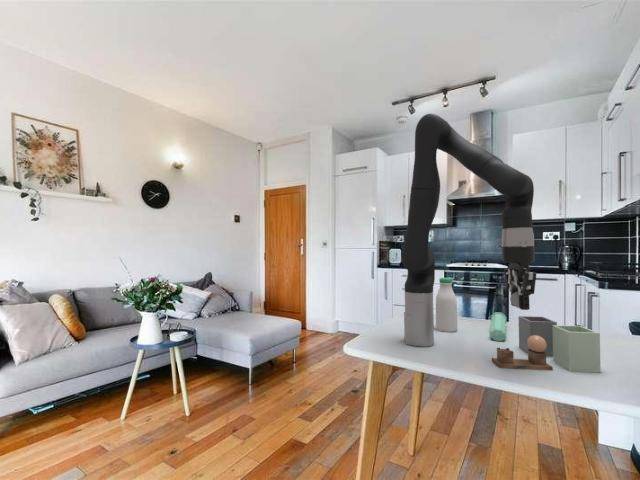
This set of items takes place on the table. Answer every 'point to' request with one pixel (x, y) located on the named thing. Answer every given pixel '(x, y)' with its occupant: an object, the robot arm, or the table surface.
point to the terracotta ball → (536, 343)
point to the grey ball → (515, 299)
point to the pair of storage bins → (563, 343)
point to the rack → (521, 360)
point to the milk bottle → (446, 307)
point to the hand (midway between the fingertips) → (520, 307)
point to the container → (498, 326)
